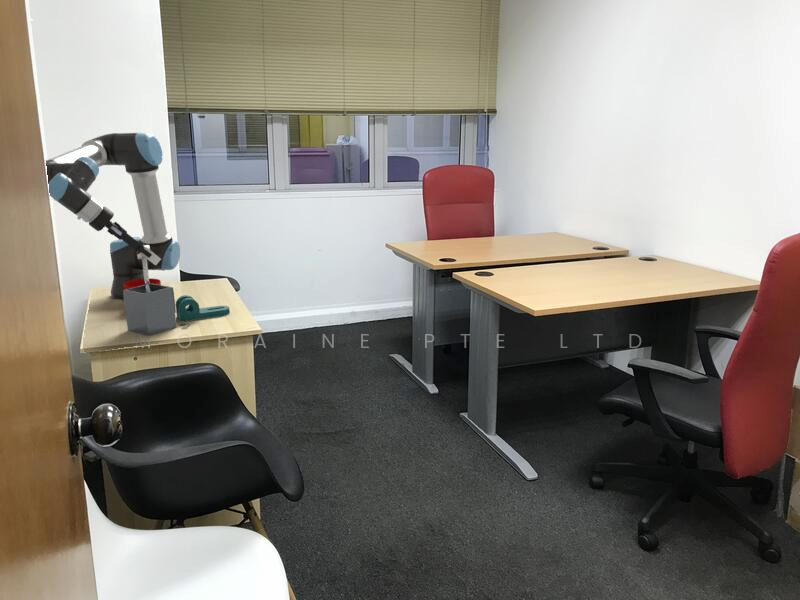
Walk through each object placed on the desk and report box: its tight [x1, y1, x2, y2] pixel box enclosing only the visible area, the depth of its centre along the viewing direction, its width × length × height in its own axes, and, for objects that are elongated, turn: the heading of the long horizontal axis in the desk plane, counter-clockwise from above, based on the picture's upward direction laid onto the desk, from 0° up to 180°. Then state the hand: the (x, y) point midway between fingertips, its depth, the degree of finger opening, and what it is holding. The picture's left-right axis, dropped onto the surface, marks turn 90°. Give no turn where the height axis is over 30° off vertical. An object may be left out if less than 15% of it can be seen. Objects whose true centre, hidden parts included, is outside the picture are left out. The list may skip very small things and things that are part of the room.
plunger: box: [137, 245, 152, 293], centre depth 208 cm, size 9×9×17 cm
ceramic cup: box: [124, 278, 162, 290], centre depth 236 cm, size 13×17×10 cm
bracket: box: [175, 294, 230, 322], centre depth 227 cm, size 18×7×8 cm, turn 120°
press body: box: [123, 283, 177, 337], centre depth 212 cm, size 15×11×14 cm
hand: (156, 260), depth 209 cm, fingers closed on plunger, 4 cm apart
